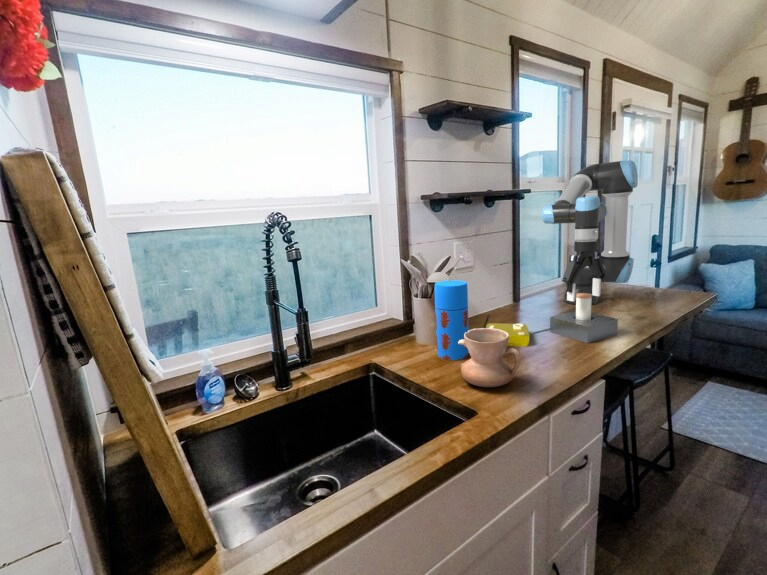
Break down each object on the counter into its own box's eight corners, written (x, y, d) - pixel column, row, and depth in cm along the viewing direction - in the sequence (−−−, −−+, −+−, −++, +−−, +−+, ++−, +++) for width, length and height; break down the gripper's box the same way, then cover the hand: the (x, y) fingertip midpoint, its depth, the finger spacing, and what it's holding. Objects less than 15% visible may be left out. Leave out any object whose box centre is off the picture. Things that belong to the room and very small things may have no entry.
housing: (578, 324, 154) (579, 310, 152) (617, 334, 139) (617, 318, 138) (549, 331, 147) (550, 316, 146) (587, 343, 133) (587, 326, 132)
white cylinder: (581, 330, 146) (582, 292, 144) (593, 333, 142) (594, 294, 139) (572, 332, 144) (573, 294, 141) (583, 336, 140) (585, 296, 137)
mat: (528, 322, 161) (528, 320, 161) (551, 329, 150) (551, 327, 150) (506, 327, 156) (506, 325, 156) (528, 334, 145) (528, 333, 145)
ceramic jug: (448, 384, 109) (446, 337, 106) (471, 366, 120) (470, 323, 117) (510, 400, 98) (510, 347, 95) (529, 379, 109) (529, 331, 106)
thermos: (460, 362, 123) (458, 287, 119) (431, 356, 130) (428, 285, 125) (474, 351, 132) (472, 281, 127) (446, 346, 138) (444, 279, 134)
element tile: (486, 333, 152) (486, 321, 151) (526, 334, 147) (526, 322, 146) (485, 346, 138) (485, 333, 137) (529, 348, 133) (529, 335, 132)
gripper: (570, 243, 128) (568, 304, 132) (618, 238, 138) (615, 295, 142) (552, 242, 135) (551, 301, 139) (599, 237, 145) (596, 292, 149)
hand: (583, 298), depth 140 cm, fingers open, 13 cm apart
